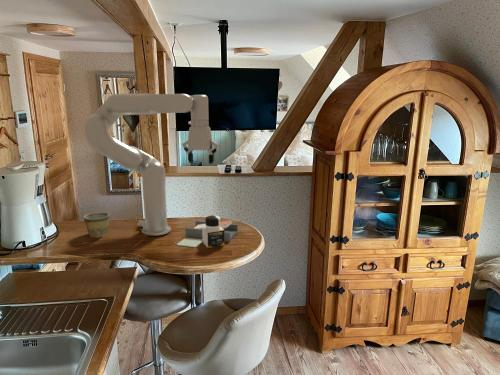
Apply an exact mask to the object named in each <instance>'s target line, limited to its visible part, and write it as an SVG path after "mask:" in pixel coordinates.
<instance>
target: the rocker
mask: <svg viewBox="0 0 500 375" xmlns="http://www.w3.org/2000/svg"><path fill="white" fill-rule="evenodd" d="M230 224H233V222H232V220H224V221H220V227H221V228H227V227H228V226H229V225H230ZM195 226H196V225H195ZM195 226H194V227H195ZM205 226H206V224H200V225H197V226H196V227H195V228H197V229H202V227H205Z"/></svg>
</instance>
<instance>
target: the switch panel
mask: <svg viewBox="0 0 500 375" xmlns="http://www.w3.org/2000/svg"><path fill="white" fill-rule="evenodd" d="M200 224H206V223H205V220H195V225H194V227H185V228H184V229H185V231H184V232H185V238H195V239H202V229H197V228H195V227H196V226H197V225H200ZM223 229H224V242H228V243H229V242H231V241H232V240H233V239H234V238H235V237H236V236H237V235H238V234H239V224H238V223H232V224H230V225H229V226H228V227H227V228H223ZM235 235H236V236H235Z"/></svg>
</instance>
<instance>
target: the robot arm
mask: <svg viewBox="0 0 500 375" xmlns="http://www.w3.org/2000/svg"><path fill="white" fill-rule="evenodd" d="M189 112H190V118H191V120H190V121H189V120H188V125H190V127H189V129H188V135H187V140H186V141H184V142H182V143H181V145H182V147H183V149H184V151H185V152H186V154H187V160H188V163H189V164H191V163H193V162H194V153H193V151H201V152H202V151H205V152H206V151H207V152H208V164H210V165H212V164H213V163H214V162H215V157H214V156H215V153H217V151H218V149H219V147H220V144H218V143H217V142H216V141H214V140H213V136H212V130H211V127H210V125H209V124H210V123H209V119H210V118H209V98H208V96H207V95H206V94H193V95H189V94H186V93H168V94H167V93H152V92H151V93H149V92H148V93H147V92H146V93H144V92H143V93H113V94H111V95H109V96H108V97H107V98H106V100H105V101H104V103H102V105H100V107H98V109H96V110H95V111H94V112H93V113H92V114H91V115H89V116H88V117H87V118H86V120H85V122H84V128H83V130H84V137H85V139H86V142H87V144H88V145H89V146H90V147H91V148H92V150H94V151H96V152H97V153H98V154H100V155H101V156H104V157H106V158H107V159H109V160H110V161H112V162H114V163H116V164H118V165H119V166H121V167H122V168H123V169H126V170H130V171H134V172H136V173H138V174H139V175H141V179H142V197H143V211H144V212H143V213H144V215H143V216H144V220H138V222H137V226H138V227H142V228H141V233H143V235H147V236H152V237H153V236H155V237H156V236H162V235H165V234H169V233H170V232H171V230H172V227H171V226H170V225H168V217H167V216H168V212H167V195H166V179H167V178H166V177H167V176H166V170H165V166H164V165H163V164H162V162H161V161H159V160H158V159H157V158H155V157H153V156H152V155H150V154H148V153H146V152H145V151H143V150H141V149H140V148H138V147H136V146H133V145H127V144H126V143H124V142H123V141H121V140H119V139H117V138H115V137H114V136H112V135H111V134H109V131H108V130H109V129H110V128H111V127H112V126H113V125H114V124H115V123H116V122H117V121H118V120H119V119H120V118H121V116H135V115H136V116H140V115H144V116H145V115H146V116H147V115H157V114H177V113H179V114H181V113H184V114H185V113H189ZM213 146H214V148H213Z"/></svg>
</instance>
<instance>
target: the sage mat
mask: <svg viewBox="0 0 500 375" xmlns="http://www.w3.org/2000/svg"><path fill="white" fill-rule="evenodd" d="M201 244H203V239H199V238H190V237H184V238H183V239H181V241H179V242H177V244H176V246H178V247H180V246H181V247H186V248H188V247H189V248H197V247H198V246H200V245H201Z"/></svg>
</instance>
